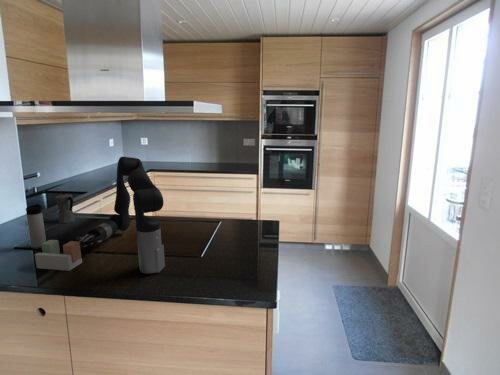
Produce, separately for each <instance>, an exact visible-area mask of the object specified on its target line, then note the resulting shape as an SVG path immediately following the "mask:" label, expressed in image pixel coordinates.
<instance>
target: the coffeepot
mask: <svg viewBox="0 0 500 375" xmlns="http://www.w3.org/2000/svg"><path fill="white" fill-rule="evenodd" d="M61 193H62V194H59V195H58V194H57V195H56V196H55V197H54V198H55V202H56V204H57V208H58V220H57V221H58V223H59V224H71V223H73V222H75V221H76V216H75V215H74V210H73V206H74V199H73V197H74V196H73V194H69V193H67V194H66V191H61Z"/></svg>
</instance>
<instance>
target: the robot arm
mask: <svg viewBox="0 0 500 375" xmlns="http://www.w3.org/2000/svg"><path fill="white" fill-rule="evenodd" d="M126 176H127V184H128V186H129V188H130V189H131V191H132V192H133V194H132V201H133V209H134V216H135V225H136V226H135V227H136V228H135V229H136V242H137V256H138V267H139V271H140V273H143V274H147V275H148V274H157V273H160V272H161V271H162V270H163V269H164V268H165V267H166V261H165V247H164V244H162V233H161V232H162V230H161V222H160V220H159V219H157V218H154V217H153V218H152V217H149V216H146V215H145V214H148V213H153V212H155V213H156V212H159V211H160V210H162V209H163V207H164V197H163V194H162V192H161V190H160V188H158V187H157V185H155V184H154V183H153V182H152V179H151V178H150V176H149V174H147V172H146V170H145V168H144V165H143V162H142V161H141V159H139V158H137V157H131V156H129V157H128V156H120V157H119V158H118V160H117V167H116V184H115V185H116V186H115V187H116V190H115V191H116V194H115V199H114V200H115V202H114V208H113V211H114V212H115V213H114V214H112V215H110V216H109V217H108V219H107V220H106V221H105V222H103V223H100V224H99V225H96V226H95V227H93V228H91V229H89V230H88V232H87V233H86V234H84V235H82V237H81V236H78V235H77V236H76V237H75V239H76V240H75V241H77V242H80V249H81V248H83V247H84V248H85V247H93V246H97V245H101V244H102V243H103V242H104V241H106V240H108V238H110V237H111V236H113V235H114V234H116V232H118V230H119V231H121V232H125V231H127V230H128V229H129V227H130V224H131V220H130V212H129V209H130V205H131V204H130V203H131V195H130V193H129V191H128V189H127V187H126V184H125V181H124V177H126Z"/></svg>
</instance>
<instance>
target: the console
mask: <svg viewBox="0 0 500 375" xmlns="http://www.w3.org/2000/svg"><path fill="white" fill-rule="evenodd" d="M34 259H35V264H36V269H43V270H44V269H45V270H57V271H67V272H69V271H72V270H73V269H74V268H77V267H78V266H79V265H81V264H82V263H83V259H82V257H81V258H79V259H77V260H76V261H74V262H72V258H71V255H65V254H64V252H62V253H61V252H60V254H52V253H42V252H36V253H35V254H34Z"/></svg>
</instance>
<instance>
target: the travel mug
mask: <svg viewBox="0 0 500 375" xmlns="http://www.w3.org/2000/svg"><path fill="white" fill-rule="evenodd" d="M25 211H26V213H25V214H26V221H27V227H28V233H29V240H30V247H31V249H33V250H38V249H42V246H41V244H42V243H44V242H46V241H47V238H46V231H45V223H44V216H43V210H42V205H40V204H39V203H37V204H36V203H35V204H34V205H29V206H27V207H26V208H25Z"/></svg>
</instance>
